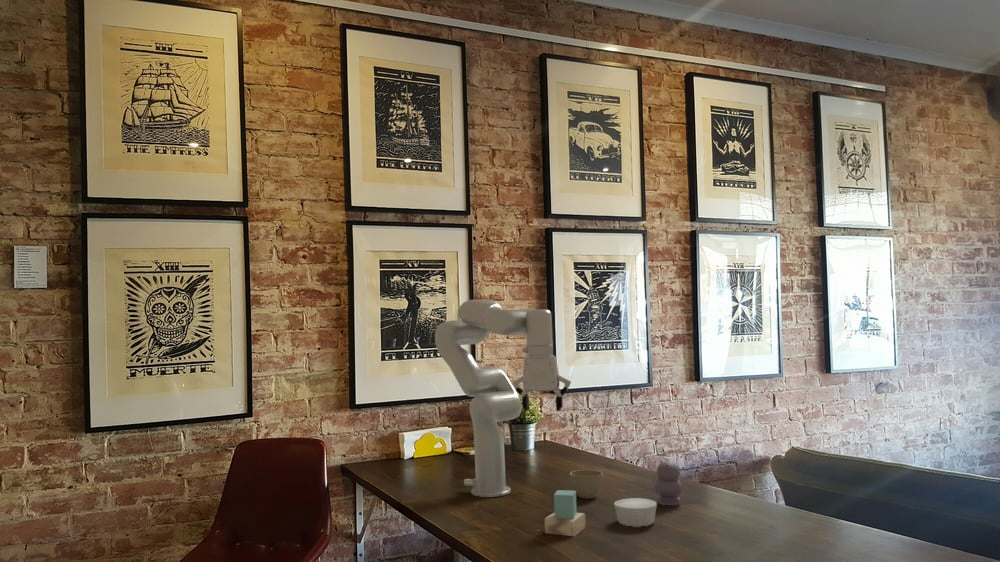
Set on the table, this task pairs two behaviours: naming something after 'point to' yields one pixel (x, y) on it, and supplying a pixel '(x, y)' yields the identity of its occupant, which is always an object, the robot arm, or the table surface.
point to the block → (565, 504)
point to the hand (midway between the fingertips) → (542, 410)
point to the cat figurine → (668, 483)
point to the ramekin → (635, 511)
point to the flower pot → (586, 482)
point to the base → (565, 525)
